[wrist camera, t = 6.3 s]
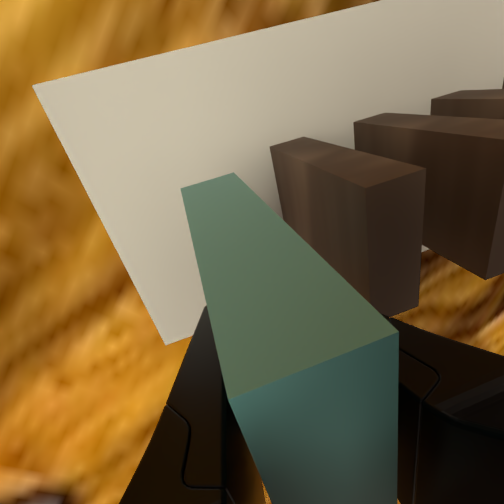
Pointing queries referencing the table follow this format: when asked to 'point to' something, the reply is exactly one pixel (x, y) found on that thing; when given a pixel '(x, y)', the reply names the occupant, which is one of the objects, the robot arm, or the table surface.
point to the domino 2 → (296, 353)
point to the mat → (251, 119)
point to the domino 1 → (356, 216)
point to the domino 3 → (450, 181)
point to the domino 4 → (470, 104)
